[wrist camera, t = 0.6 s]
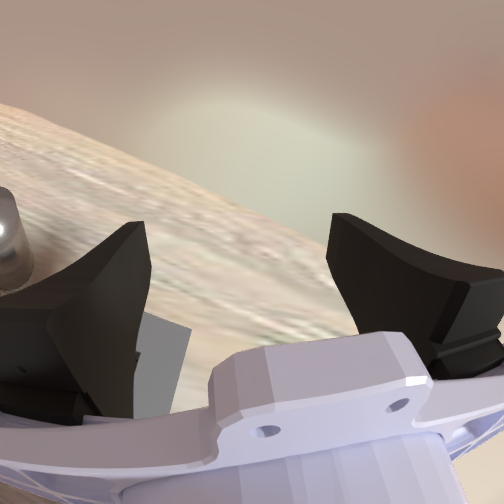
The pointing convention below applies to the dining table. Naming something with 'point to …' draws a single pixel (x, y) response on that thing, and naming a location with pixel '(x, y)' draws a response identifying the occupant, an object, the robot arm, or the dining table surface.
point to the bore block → (158, 365)
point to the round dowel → (13, 245)
